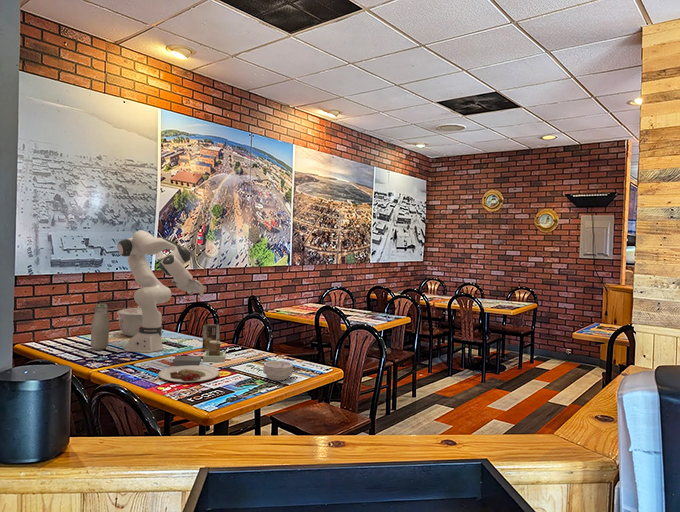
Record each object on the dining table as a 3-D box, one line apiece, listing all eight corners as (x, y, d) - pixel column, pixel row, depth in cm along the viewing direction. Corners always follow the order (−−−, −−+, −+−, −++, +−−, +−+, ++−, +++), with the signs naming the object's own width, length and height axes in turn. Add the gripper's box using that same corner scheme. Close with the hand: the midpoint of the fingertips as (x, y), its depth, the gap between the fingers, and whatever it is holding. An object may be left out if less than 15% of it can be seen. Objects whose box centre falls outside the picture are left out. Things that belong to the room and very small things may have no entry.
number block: (214, 359, 286) (215, 342, 285) (208, 358, 289) (209, 341, 288) (219, 358, 289) (220, 341, 289) (214, 357, 292) (214, 340, 292)
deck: (173, 365, 270) (173, 360, 270) (175, 361, 280) (176, 355, 280) (199, 365, 273) (199, 360, 273) (201, 361, 283) (201, 356, 283)
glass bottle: (93, 352, 290) (94, 305, 289) (88, 348, 298) (90, 302, 297) (110, 350, 297) (112, 304, 296) (105, 347, 304) (107, 302, 303)
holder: (202, 361, 282) (203, 356, 282) (204, 356, 294) (204, 351, 294) (224, 362, 284) (224, 356, 284) (225, 357, 296) (225, 351, 296)
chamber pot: (131, 340, 325) (132, 309, 325) (107, 334, 340) (108, 305, 340) (167, 335, 349) (168, 306, 348) (143, 329, 364) (144, 302, 363)
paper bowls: (296, 376, 262) (296, 361, 262) (286, 384, 248) (287, 368, 247) (269, 373, 266) (269, 358, 266) (258, 380, 251) (259, 365, 251)
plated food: (197, 365, 274) (197, 359, 274) (231, 377, 255) (231, 371, 255) (146, 375, 251) (146, 368, 250) (179, 389, 232) (180, 381, 231)
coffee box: (219, 349, 314) (220, 324, 314) (215, 351, 308) (216, 326, 308) (205, 348, 315) (206, 323, 315) (201, 350, 309) (202, 325, 308)
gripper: (199, 276, 276) (212, 292, 284) (176, 273, 287) (189, 289, 296) (192, 284, 272) (205, 300, 280) (169, 281, 284) (183, 297, 292)
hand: (197, 294), depth 288 cm, fingers open, 8 cm apart
